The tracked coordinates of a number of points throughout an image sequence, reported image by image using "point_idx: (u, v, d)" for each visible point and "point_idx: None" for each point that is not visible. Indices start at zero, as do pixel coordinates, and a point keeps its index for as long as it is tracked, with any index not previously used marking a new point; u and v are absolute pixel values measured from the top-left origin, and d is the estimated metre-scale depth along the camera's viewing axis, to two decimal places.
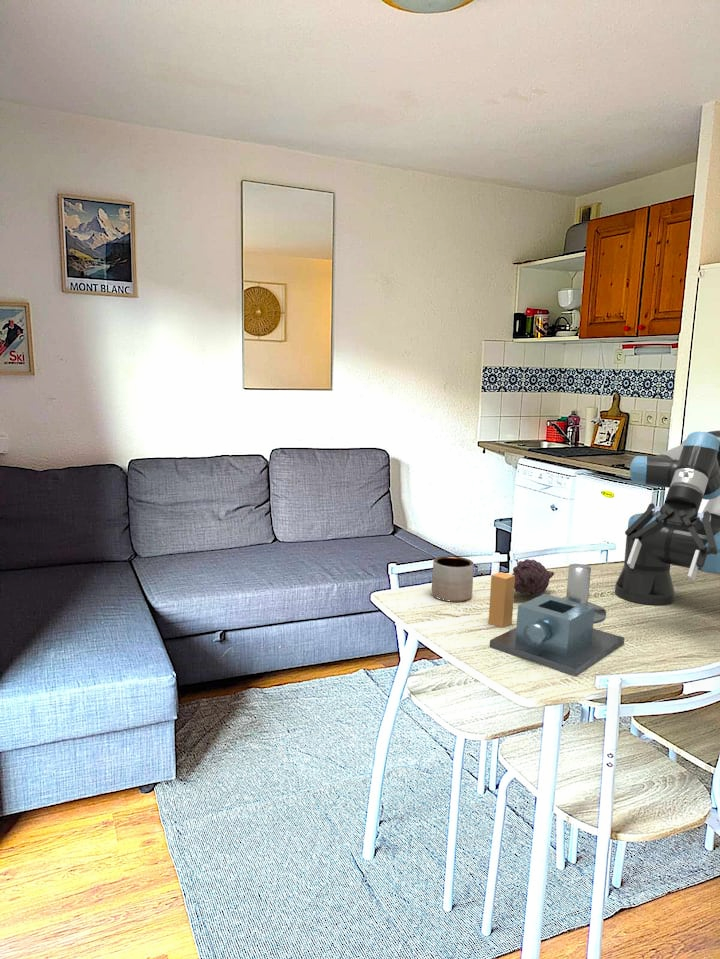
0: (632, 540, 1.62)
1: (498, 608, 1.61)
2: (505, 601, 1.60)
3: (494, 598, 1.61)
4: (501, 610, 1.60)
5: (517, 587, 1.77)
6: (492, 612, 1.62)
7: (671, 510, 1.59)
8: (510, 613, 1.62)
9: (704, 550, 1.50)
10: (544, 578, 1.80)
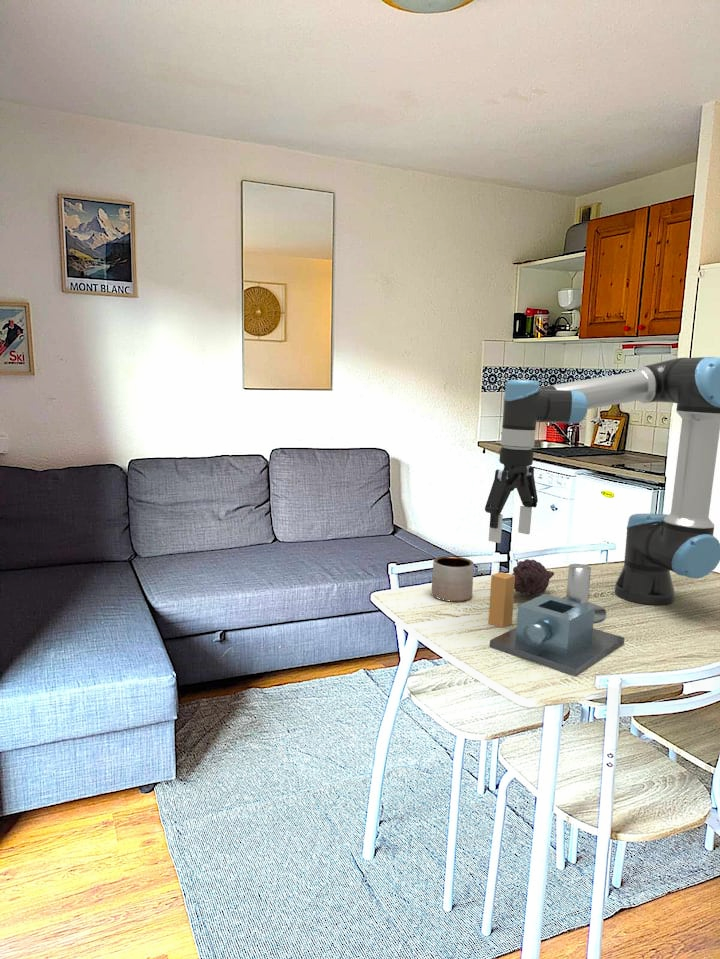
0: None
1: (498, 608, 1.61)
2: (505, 601, 1.60)
3: (494, 598, 1.61)
4: (501, 610, 1.60)
5: (517, 587, 1.77)
6: (492, 612, 1.62)
7: None
8: (510, 613, 1.62)
9: (489, 512, 1.53)
10: (544, 578, 1.80)
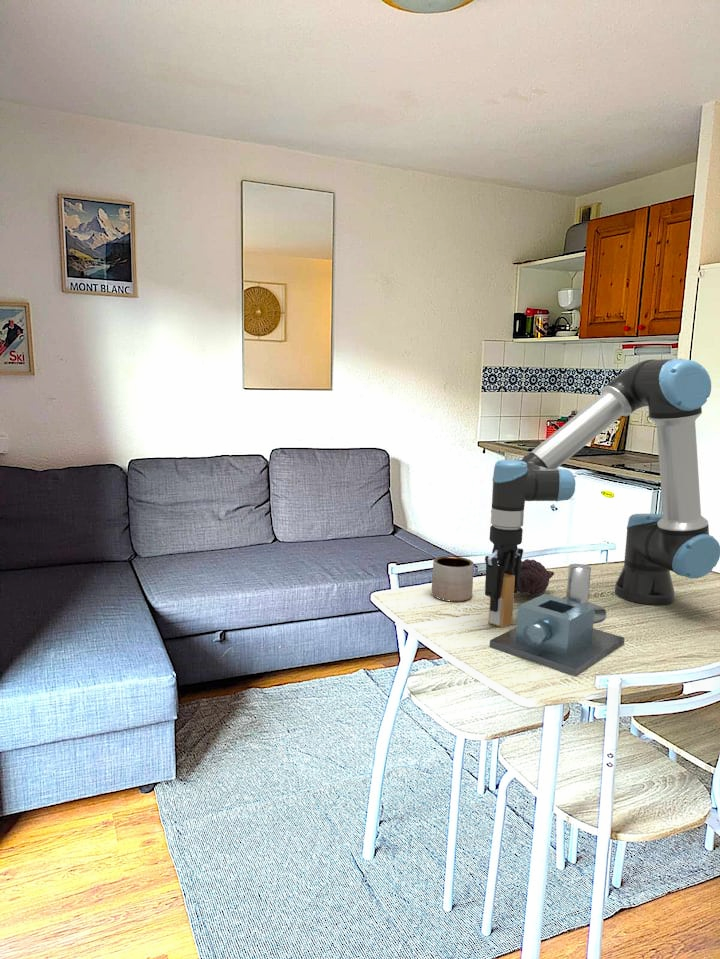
0: None
1: None
2: (505, 601, 1.60)
3: None
4: None
5: None
6: None
7: None
8: (510, 613, 1.62)
9: (489, 596, 1.60)
10: (544, 578, 1.80)
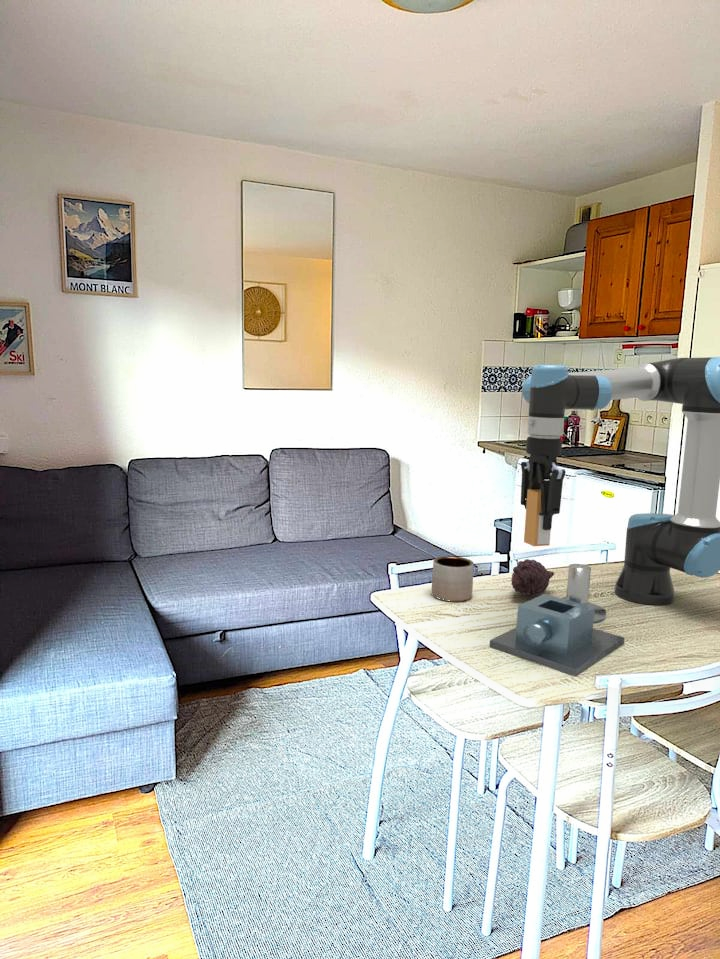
0: None
1: None
2: None
3: None
4: None
5: (517, 587, 1.77)
6: None
7: (531, 464, 1.49)
8: None
9: (543, 515, 1.47)
10: (544, 578, 1.80)
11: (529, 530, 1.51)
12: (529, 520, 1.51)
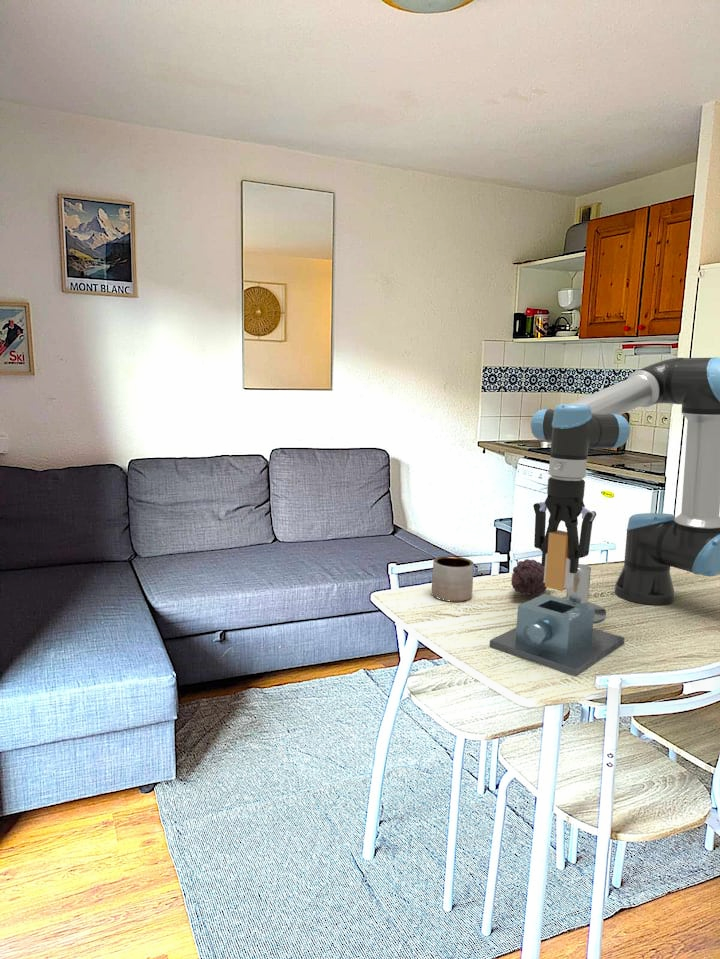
0: (543, 553, 1.48)
1: None
2: None
3: None
4: None
5: (517, 587, 1.77)
6: None
7: (554, 506, 1.44)
8: None
9: (572, 558, 1.43)
10: None
11: (554, 575, 1.46)
12: (553, 564, 1.45)
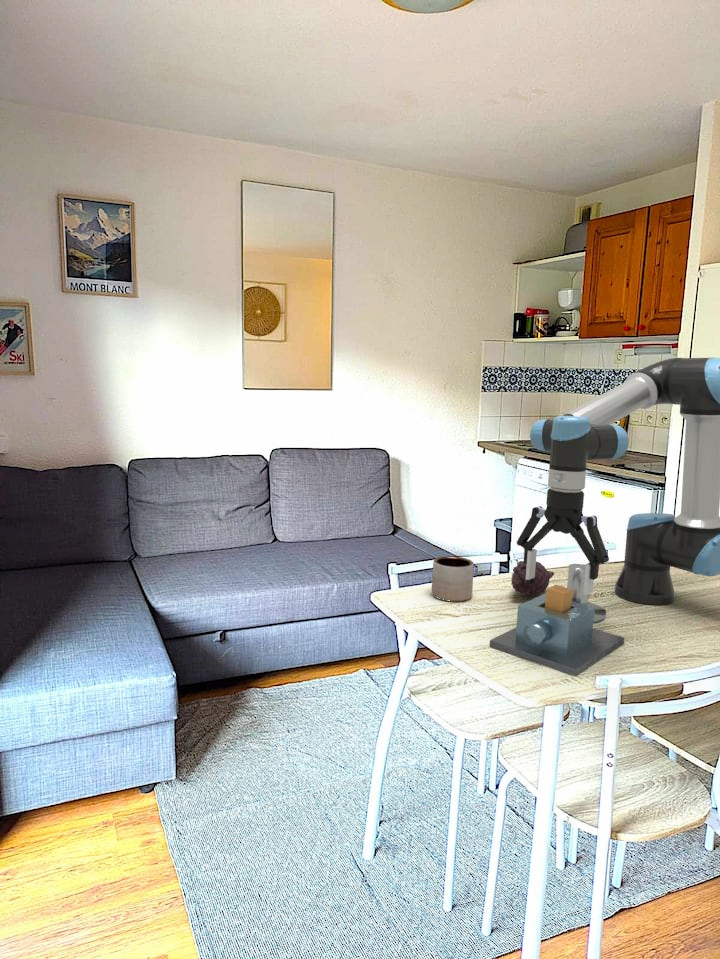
0: (525, 551, 1.51)
1: None
2: None
3: None
4: None
5: (517, 587, 1.77)
6: None
7: (554, 518, 1.44)
8: None
9: (594, 564, 1.40)
10: (544, 578, 1.80)
11: None
12: None
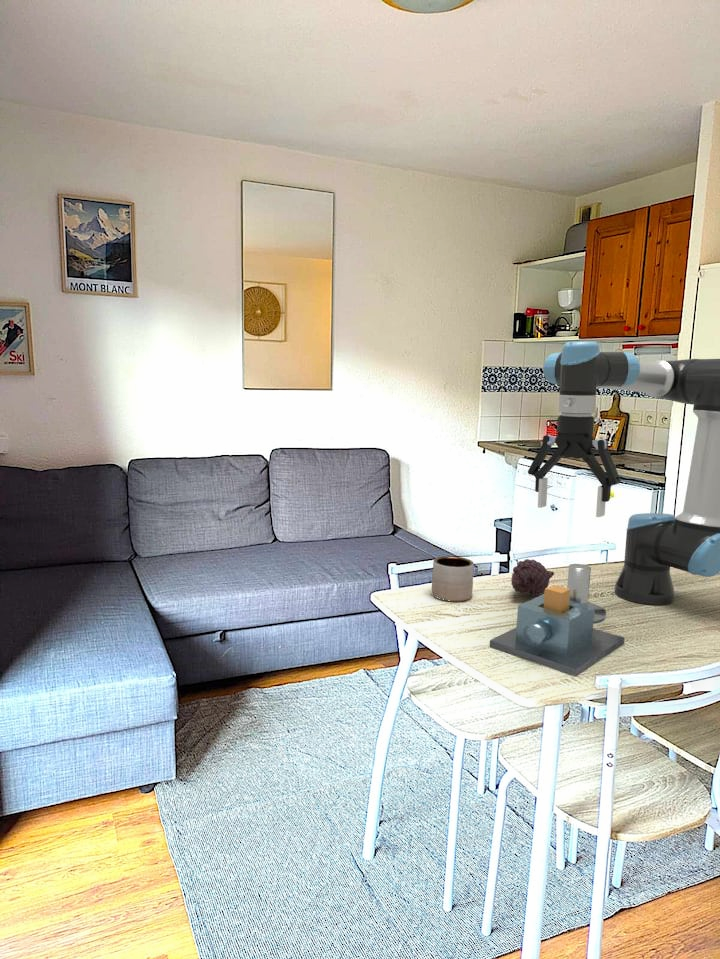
0: (537, 479, 1.53)
1: None
2: None
3: None
4: None
5: (517, 587, 1.77)
6: None
7: (565, 444, 1.46)
8: None
9: (606, 486, 1.42)
10: (544, 578, 1.80)
11: None
12: None
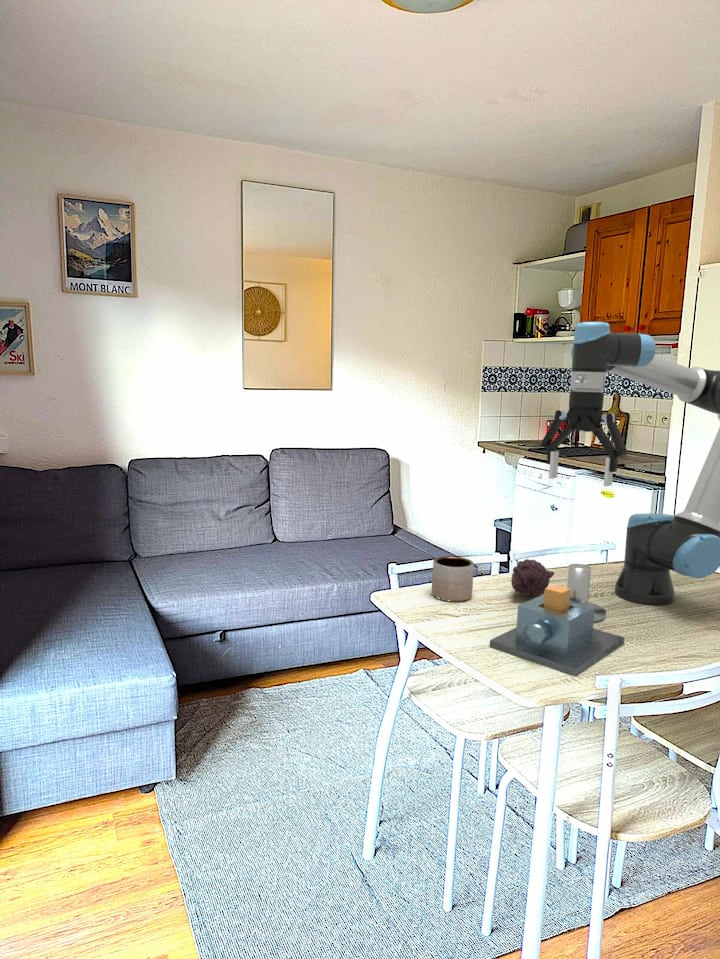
0: (549, 452, 1.64)
1: None
2: None
3: None
4: None
5: (517, 587, 1.77)
6: None
7: (576, 418, 1.57)
8: None
9: (613, 457, 1.52)
10: (544, 578, 1.80)
11: None
12: None
